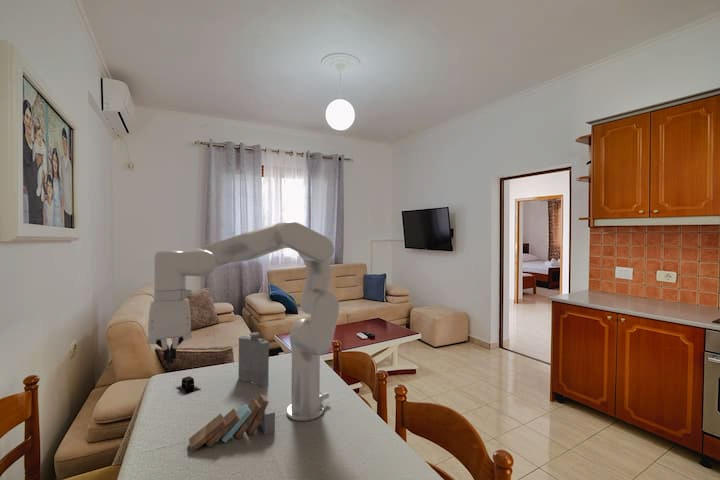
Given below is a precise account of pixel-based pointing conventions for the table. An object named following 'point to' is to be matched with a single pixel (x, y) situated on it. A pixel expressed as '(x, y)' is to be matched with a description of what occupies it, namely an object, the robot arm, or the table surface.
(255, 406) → the domino
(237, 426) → the domino
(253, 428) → the domino
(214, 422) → the domino
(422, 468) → the table surface
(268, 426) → the end block
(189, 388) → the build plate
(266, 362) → the hip flask
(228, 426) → the domino
